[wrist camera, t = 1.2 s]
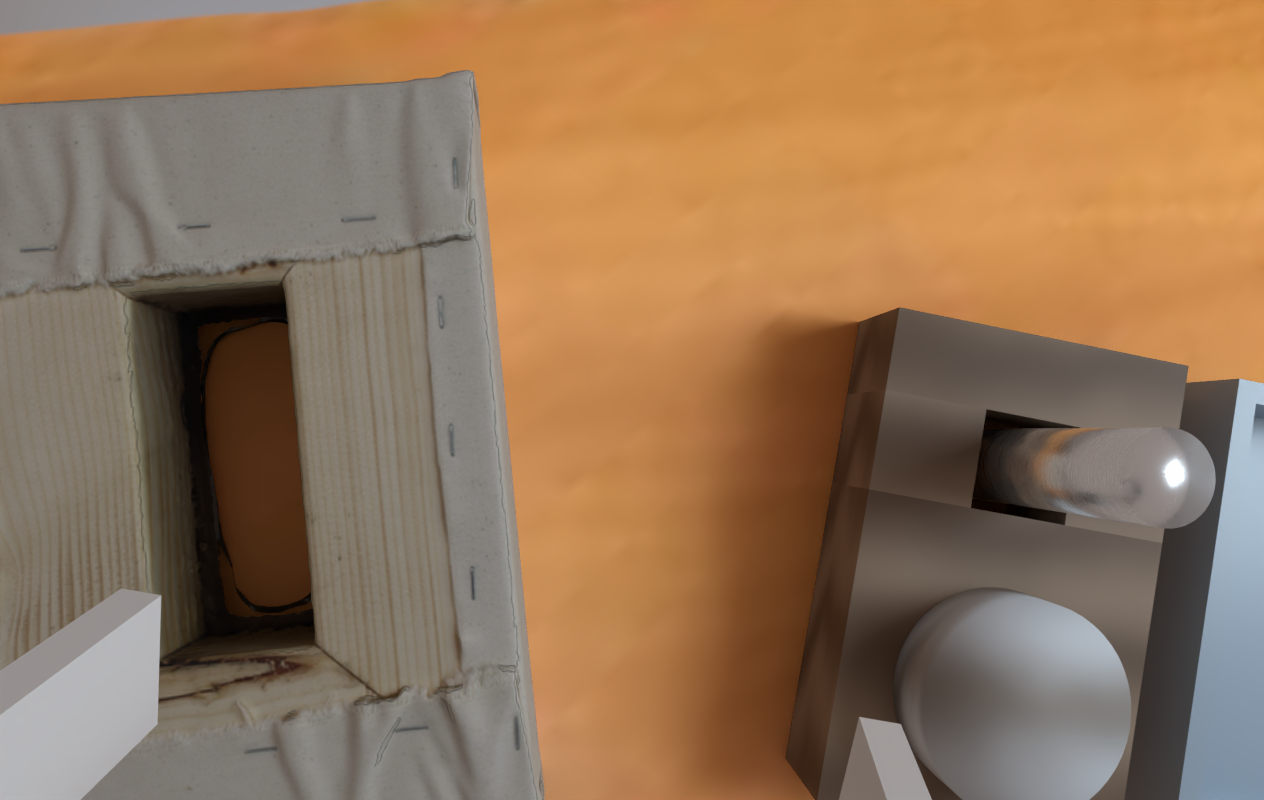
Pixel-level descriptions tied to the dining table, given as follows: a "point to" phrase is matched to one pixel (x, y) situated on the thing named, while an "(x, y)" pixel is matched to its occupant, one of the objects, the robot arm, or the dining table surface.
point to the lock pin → (1099, 473)
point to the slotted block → (326, 430)
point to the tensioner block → (978, 571)
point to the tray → (1209, 620)
